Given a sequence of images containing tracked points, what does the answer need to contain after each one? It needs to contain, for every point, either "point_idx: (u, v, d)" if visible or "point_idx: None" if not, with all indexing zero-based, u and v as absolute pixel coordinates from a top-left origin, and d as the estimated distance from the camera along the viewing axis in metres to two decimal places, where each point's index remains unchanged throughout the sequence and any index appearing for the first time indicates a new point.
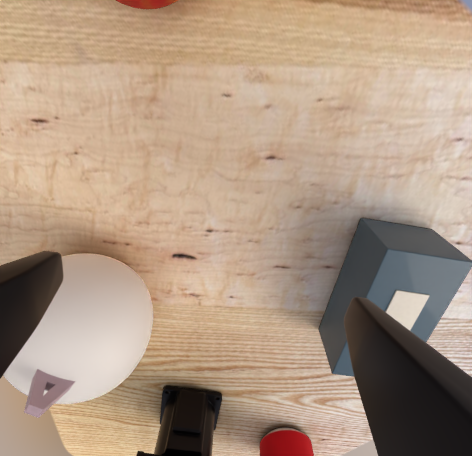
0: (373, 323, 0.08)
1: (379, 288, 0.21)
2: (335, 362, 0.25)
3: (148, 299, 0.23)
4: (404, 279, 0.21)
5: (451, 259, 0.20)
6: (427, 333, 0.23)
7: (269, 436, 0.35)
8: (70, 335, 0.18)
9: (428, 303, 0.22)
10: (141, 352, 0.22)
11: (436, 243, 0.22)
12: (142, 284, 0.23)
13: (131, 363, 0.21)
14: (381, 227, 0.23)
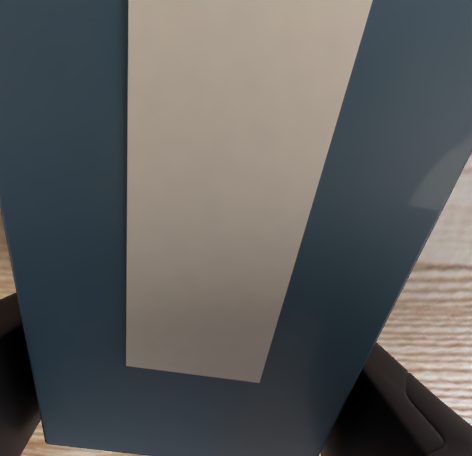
0: None
1: None
2: (42, 405, 0.06)
3: None
4: None
5: None
6: (389, 274, 0.05)
7: None
8: None
9: (378, 54, 0.03)
10: None
11: None
12: None
13: None
14: None
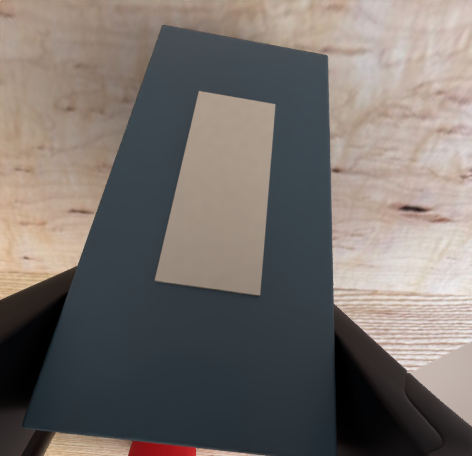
0: None
1: (161, 89, 0.09)
2: (46, 360, 0.06)
3: None
4: (211, 74, 0.10)
5: (284, 47, 0.11)
6: (320, 208, 0.08)
7: None
8: None
9: (281, 125, 0.09)
10: None
11: None
12: None
13: None
14: None
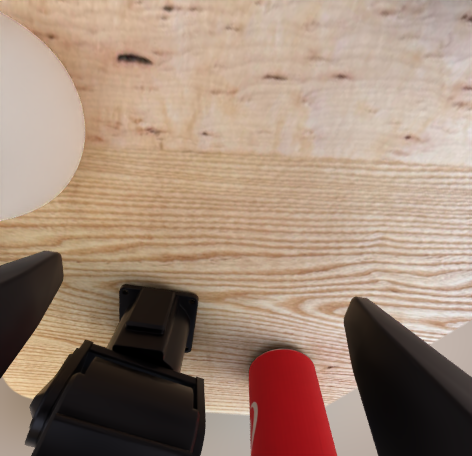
0: (373, 323, 0.08)
1: None
2: None
3: (69, 84, 0.15)
4: None
5: None
6: None
7: (260, 357, 0.27)
8: None
9: None
10: (52, 149, 0.14)
11: None
12: (61, 64, 0.15)
13: (28, 150, 0.13)
14: None
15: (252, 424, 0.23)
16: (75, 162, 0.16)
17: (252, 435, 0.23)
